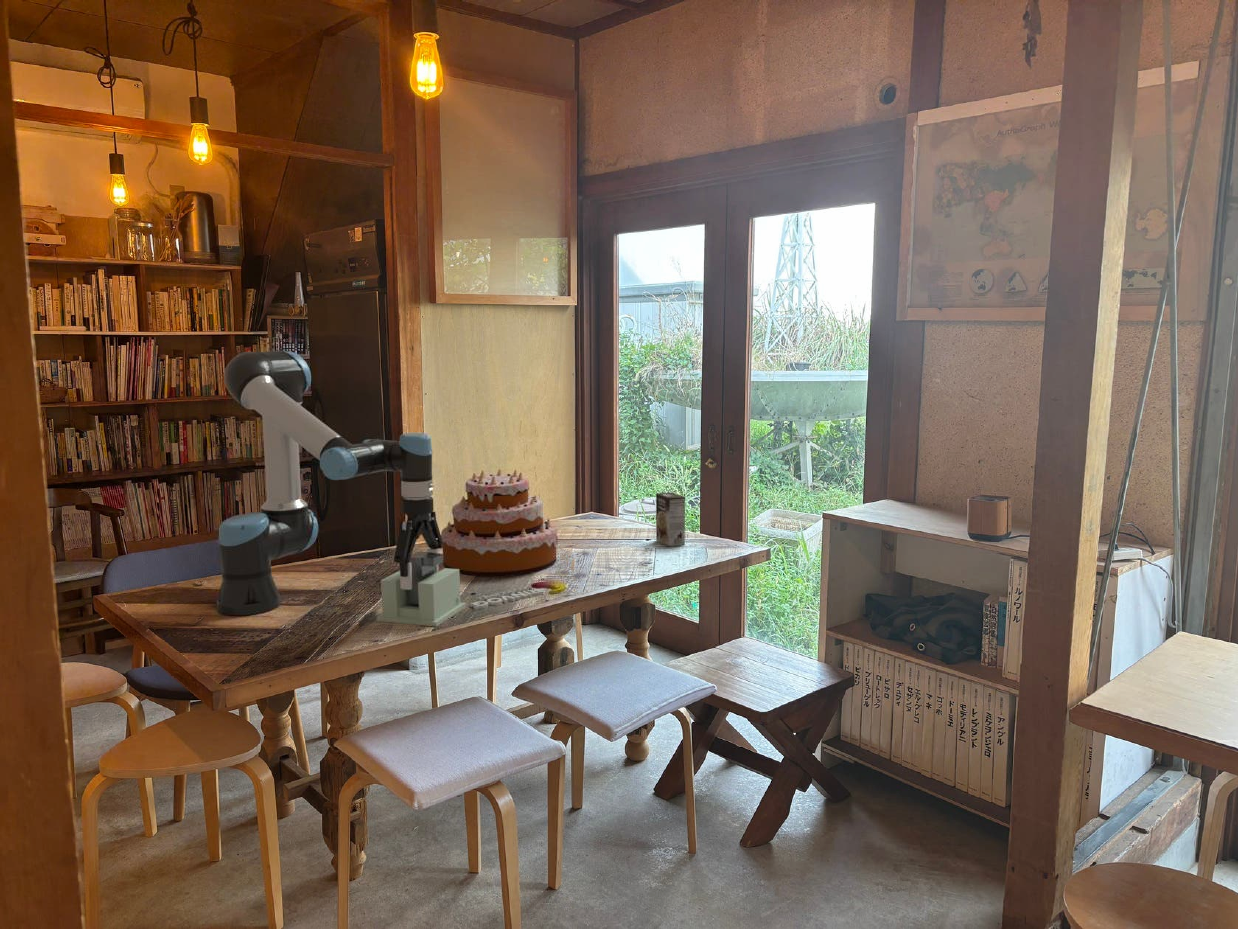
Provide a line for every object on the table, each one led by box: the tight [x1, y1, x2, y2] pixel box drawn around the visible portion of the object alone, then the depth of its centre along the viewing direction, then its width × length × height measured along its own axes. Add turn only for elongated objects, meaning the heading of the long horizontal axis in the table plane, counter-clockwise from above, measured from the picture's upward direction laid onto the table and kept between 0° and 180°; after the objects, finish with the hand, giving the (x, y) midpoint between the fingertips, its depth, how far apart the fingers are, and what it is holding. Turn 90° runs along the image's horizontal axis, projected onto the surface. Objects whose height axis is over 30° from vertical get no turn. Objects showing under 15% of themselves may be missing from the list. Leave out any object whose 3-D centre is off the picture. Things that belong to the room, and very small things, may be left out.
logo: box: [470, 580, 566, 611], centre depth 238 cm, size 29×1×10 cm
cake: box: [440, 468, 559, 578], centre depth 272 cm, size 35×35×28 cm
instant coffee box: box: [655, 492, 686, 547], centre depth 295 cm, size 9×6×16 cm
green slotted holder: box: [376, 567, 467, 627], centre depth 223 cm, size 16×16×10 cm
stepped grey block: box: [408, 551, 443, 607], centre depth 222 cm, size 7×6×14 cm
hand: (420, 581), depth 223 cm, fingers open, 13 cm apart
